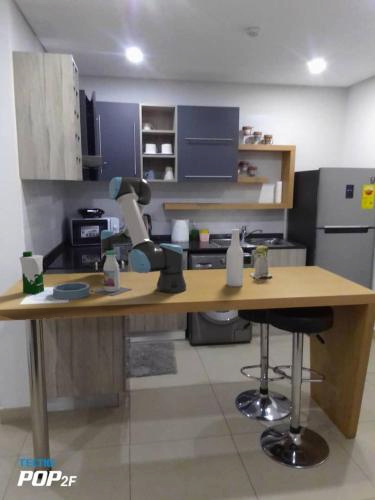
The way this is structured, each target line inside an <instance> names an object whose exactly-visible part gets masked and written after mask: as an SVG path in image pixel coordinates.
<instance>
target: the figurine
mask: <svg viewBox="0 0 375 500" xmlns="http://www.w3.org/2000/svg"><path fill="white" fill-rule="evenodd" d="M268 252H269V247H268V246H265V245H259V246H257V247H256V248H255V249H254V256H256V257H257V258H256V260H255V263H254V266H253V267H254V268H253V269H254V270H255V271H254V272H251V271H250V273H249V276H250V277H251V278H254V279H257V280H258V279H260V278H263V277H267V278H270V277H273V273H269V266H268V260H267V257H268Z"/></svg>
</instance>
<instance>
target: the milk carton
mask: <svg viewBox="0 0 375 500" xmlns="http://www.w3.org/2000/svg"><path fill="white" fill-rule="evenodd" d="M43 259H44V255H41V254H33V252H32V251H23V252H22V256H20V257H19V261H20V264H21V273H22V275H21V276H22V294H24V295H25V294H27V295H38V294H39V293H42V292H44V291H45V286H44V284H45V283H44V274H43V273H44V269H43Z"/></svg>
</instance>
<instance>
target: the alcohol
mask: <svg viewBox="0 0 375 500" xmlns="http://www.w3.org/2000/svg"><path fill="white" fill-rule="evenodd" d="M225 269H226V274H225V275H226V277H225V278H226V279H225V284H226V285H227V286H229V287H241V286H242V285H244V284H243V282H244V281H243V280H244V278H243V277H244V250H243V248H242V247H241V244H240V229H239V228H232V229H231V241H230V246H229V247H228V249H227V251H226V268H225Z"/></svg>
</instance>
